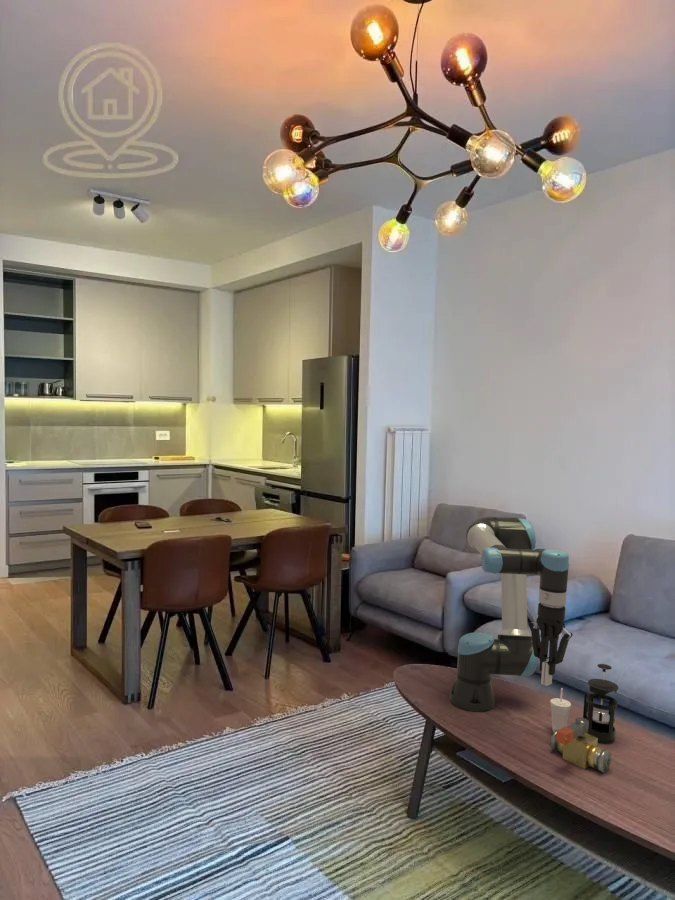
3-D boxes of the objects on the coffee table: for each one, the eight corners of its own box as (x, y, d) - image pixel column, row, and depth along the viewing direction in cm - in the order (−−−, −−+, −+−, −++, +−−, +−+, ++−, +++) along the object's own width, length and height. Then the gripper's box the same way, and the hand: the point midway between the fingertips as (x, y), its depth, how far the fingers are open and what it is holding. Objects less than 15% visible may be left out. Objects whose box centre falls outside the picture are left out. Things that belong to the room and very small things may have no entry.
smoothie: (570, 730, 215) (573, 687, 214) (568, 738, 210) (571, 695, 209) (549, 725, 218) (552, 683, 217) (546, 733, 212) (549, 690, 211)
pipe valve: (548, 752, 201) (550, 723, 200) (560, 745, 205) (562, 718, 204) (600, 775, 189) (602, 745, 188) (610, 768, 193) (613, 739, 192)
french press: (623, 742, 209) (629, 670, 207) (601, 747, 205) (606, 673, 204) (594, 725, 220) (600, 656, 218) (572, 729, 216) (578, 659, 214)
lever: (578, 726, 199) (579, 716, 198) (590, 731, 196) (591, 721, 196) (554, 740, 190) (555, 729, 190) (566, 745, 187) (567, 734, 187)
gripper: (524, 600, 196) (518, 679, 198) (566, 612, 186) (560, 695, 188) (538, 596, 201) (533, 673, 203) (580, 608, 191) (574, 688, 193)
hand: (546, 683), depth 195 cm, fingers closed
